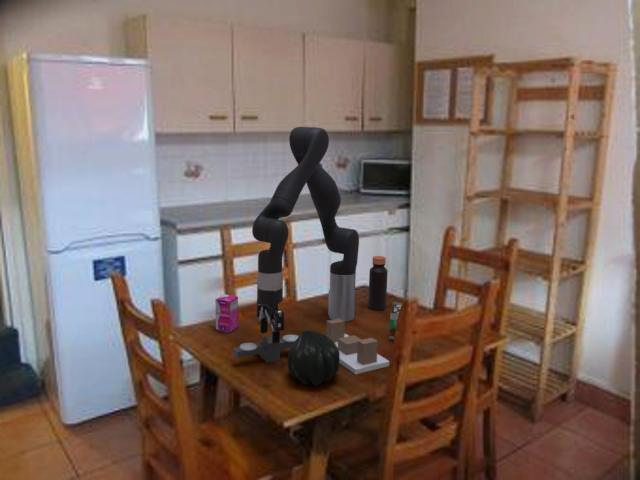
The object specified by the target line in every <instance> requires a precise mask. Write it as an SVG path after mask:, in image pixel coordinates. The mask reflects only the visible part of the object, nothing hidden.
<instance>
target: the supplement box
mask: <svg viewBox="0 0 640 480" xmlns="http://www.w3.org/2000/svg"><path fill="white" fill-rule="evenodd" d="M214 301H215V331H216V332H217V331H219V332H223V333H228V334H231V333H232V332H234V331H235V330H237V329H238V328H239V296H236V295H230V294H226V293H224V294H221V295H220V296H218V297H216V298H215V300H214Z"/></svg>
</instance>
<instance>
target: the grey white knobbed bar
mask: <svg viewBox="0 0 640 480" xmlns="http://www.w3.org/2000/svg"><path fill="white" fill-rule="evenodd" d="M299 335H300V334H298V335H297V334H285V335H283V336H282V338H280V342H279V343H273V342H272V335H271V336H265V337H261V338H260V340H259V341H260V342H258V343H254V342H243V343H241V344H240V345H239V346H237V347H233V355H234V357H236V358H237V359H241V358H244V357H245V358H246V357H251V356H255V355H256V356H257V355H260V358H261V359H263V361H265V362H266V363H267V364H269V363H274V362H278V361H279V362H280V359H281V358H280V351H281V350H284V349H290V348H291V346H292V344H293V343H294V342H295V340H296V339H297V338H298V337H299Z"/></svg>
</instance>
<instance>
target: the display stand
mask: <svg viewBox="0 0 640 480" xmlns="http://www.w3.org/2000/svg"><path fill="white" fill-rule="evenodd" d="M325 322H326V327H325V328H326V329H325V335H326V336H327V337H329V338H330V339H332V340H333V342H334V343H335V344H336V346H337V348H338V350H339V353H340V359H339V365H342V366H343V367H344V368H346V370H348V371H350V372H351V373H352V374H354V375H359V374H362V373H366V372H371V371H375V370H378V369H382V368H388V367H390V360H388V359H387V358H385V357H384V356H382V355H380V354H379V353H378V346H379V345H378V340H377V339H376V338H373V337H368V338H363V339H361V338H360V337H358V336H357V335H354V334H353V335H348V334H347V333H345V327H346V326H345V325H346V324H345V322H346V321H343V320H342V319H340V318H339V319H334V320H332V319H329V320H328V319H327V320H326V321H325Z"/></svg>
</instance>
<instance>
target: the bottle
mask: <svg viewBox="0 0 640 480" xmlns="http://www.w3.org/2000/svg"><path fill="white" fill-rule="evenodd" d="M386 259H387V257H385V256H383V255H382V256H381V255H375V256H373V257H372V267H370V269H369V276H368V277H369V278H368V279H369V280H368V282H369V284H368V301H367V304H368V305H367V307H368V308H369V309H370V310H373V311H383V309H384V310H385V309H386V308H387V291H388V269H387V268H386V267H385V265H386V263H387V262H386Z"/></svg>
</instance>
